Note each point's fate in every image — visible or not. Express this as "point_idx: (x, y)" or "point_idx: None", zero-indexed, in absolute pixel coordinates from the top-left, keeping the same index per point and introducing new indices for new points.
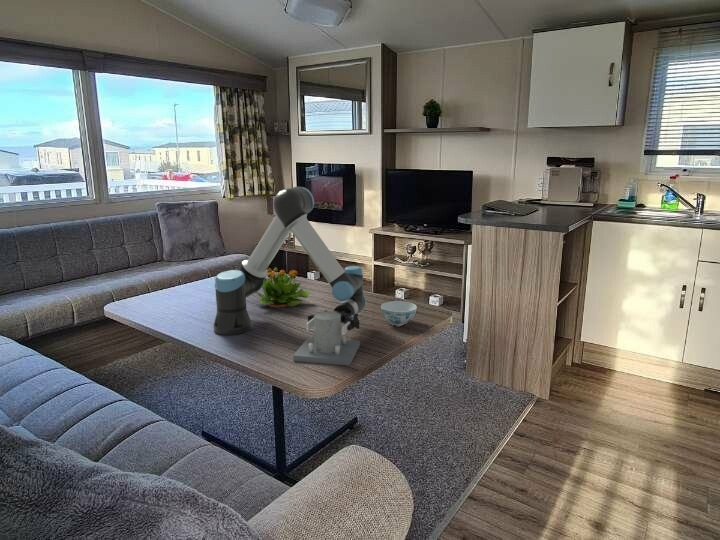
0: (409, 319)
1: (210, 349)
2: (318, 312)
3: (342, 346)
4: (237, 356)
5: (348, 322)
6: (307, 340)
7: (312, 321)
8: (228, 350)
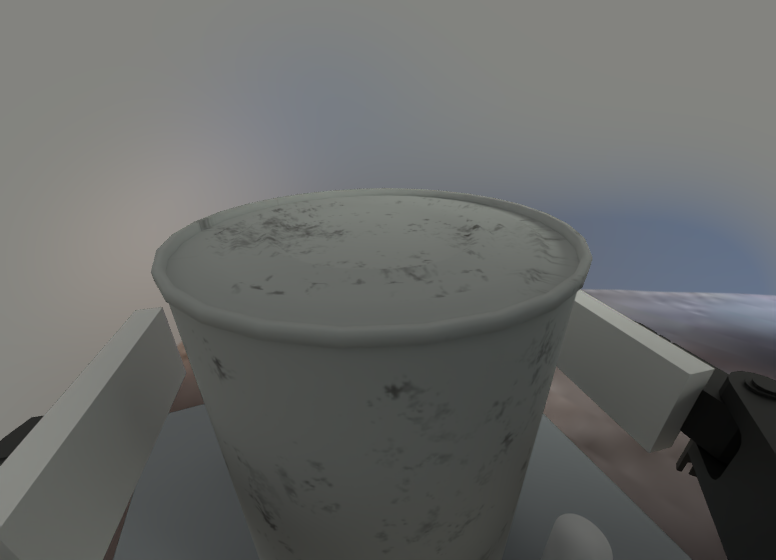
0: None
1: (760, 300)
2: (575, 231)
3: None
4: (637, 305)
5: (12, 477)
6: (669, 555)
7: (589, 326)
8: (726, 316)
